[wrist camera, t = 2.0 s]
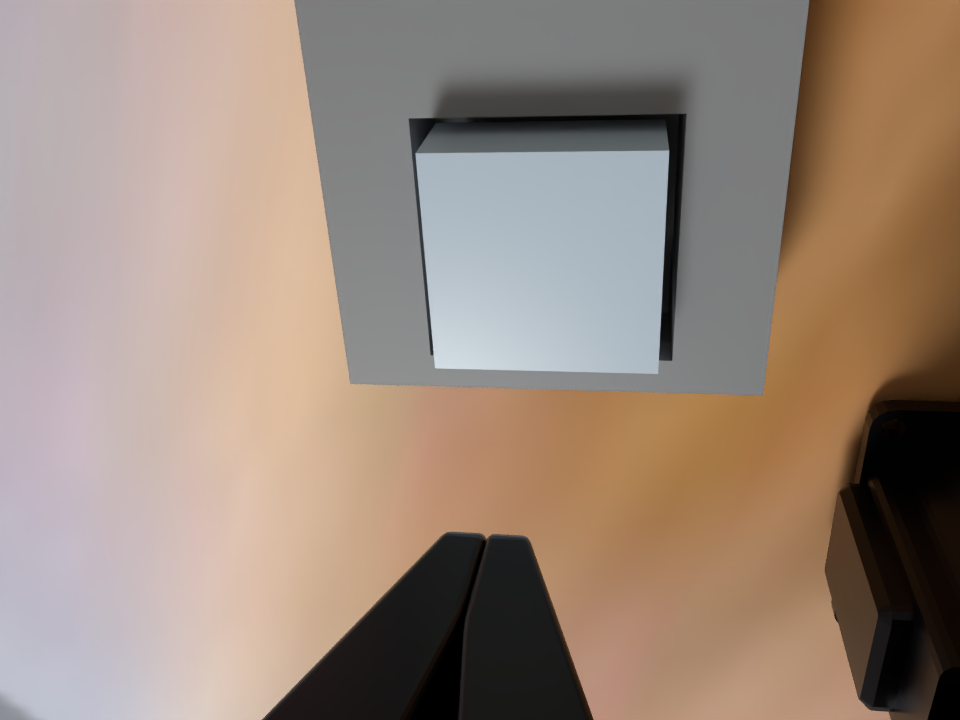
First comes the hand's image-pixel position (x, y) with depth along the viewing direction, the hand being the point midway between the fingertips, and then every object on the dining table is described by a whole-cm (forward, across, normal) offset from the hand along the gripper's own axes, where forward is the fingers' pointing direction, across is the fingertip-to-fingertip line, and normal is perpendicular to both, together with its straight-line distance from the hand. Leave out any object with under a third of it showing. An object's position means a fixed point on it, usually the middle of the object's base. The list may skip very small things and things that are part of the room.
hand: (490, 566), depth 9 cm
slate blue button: (+9, 0, 0) cm, 9 cm away
